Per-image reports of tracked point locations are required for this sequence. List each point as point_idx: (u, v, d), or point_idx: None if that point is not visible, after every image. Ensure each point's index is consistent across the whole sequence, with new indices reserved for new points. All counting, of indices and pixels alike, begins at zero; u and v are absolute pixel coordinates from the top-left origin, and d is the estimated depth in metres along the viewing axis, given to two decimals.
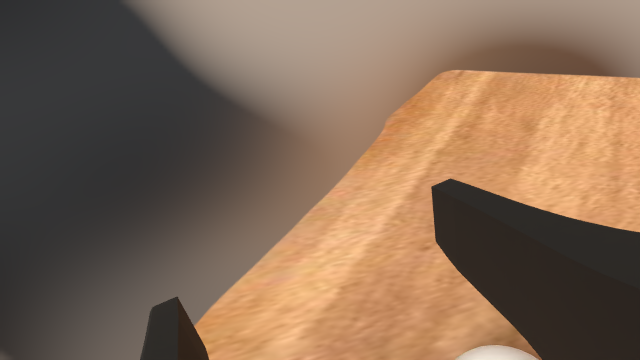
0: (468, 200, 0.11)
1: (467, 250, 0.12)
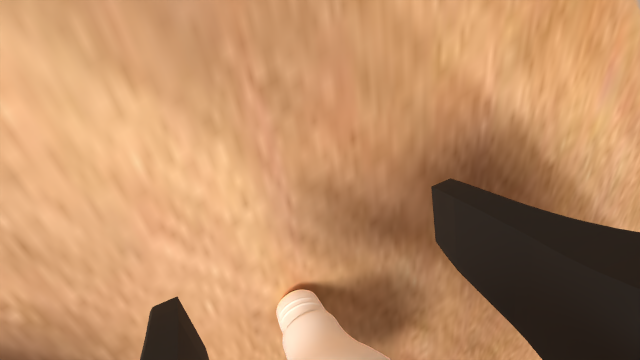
0: (468, 200, 0.11)
1: (467, 250, 0.12)
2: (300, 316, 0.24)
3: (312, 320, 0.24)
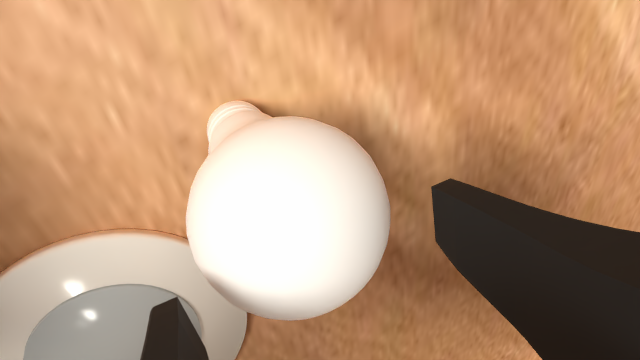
0: (468, 200, 0.11)
1: (467, 250, 0.12)
2: (231, 115, 0.18)
3: (246, 116, 0.17)
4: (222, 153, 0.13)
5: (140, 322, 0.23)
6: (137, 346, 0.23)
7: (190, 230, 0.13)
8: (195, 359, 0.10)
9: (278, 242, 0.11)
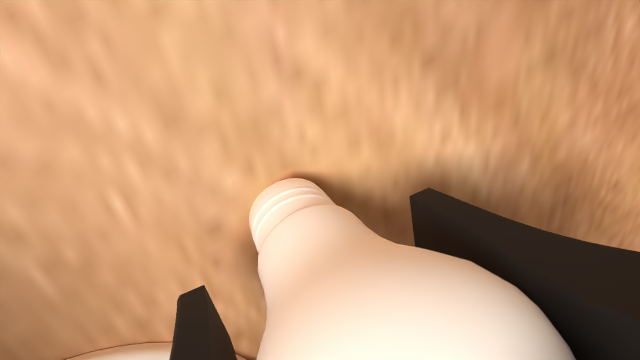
0: (444, 211, 0.11)
1: None
2: (293, 213, 0.12)
3: (317, 217, 0.11)
4: (320, 350, 0.07)
5: None
6: None
7: None
8: (223, 346, 0.10)
9: None
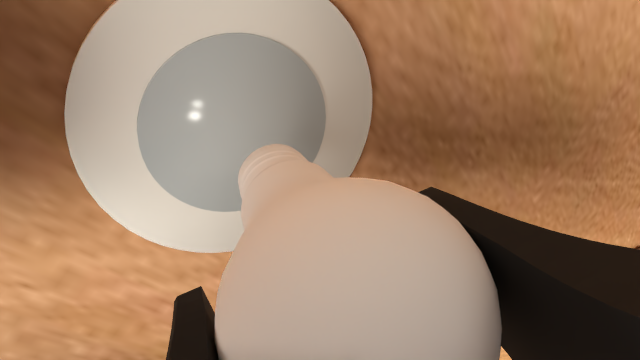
0: (447, 210, 0.11)
1: None
2: (272, 165, 0.14)
3: (292, 167, 0.13)
4: (271, 233, 0.09)
5: (246, 85, 0.19)
6: (255, 119, 0.20)
7: (221, 341, 0.09)
8: None
9: None
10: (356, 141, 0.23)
